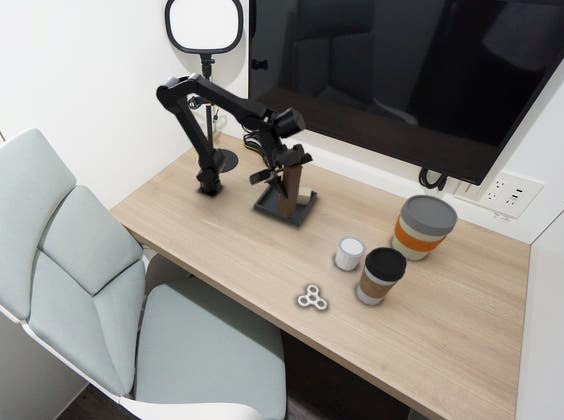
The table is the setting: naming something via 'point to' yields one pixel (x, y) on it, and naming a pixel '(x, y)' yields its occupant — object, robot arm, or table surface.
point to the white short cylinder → (349, 252)
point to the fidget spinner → (311, 300)
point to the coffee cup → (380, 274)
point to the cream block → (304, 195)
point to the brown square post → (290, 189)
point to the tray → (271, 206)
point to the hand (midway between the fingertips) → (292, 196)
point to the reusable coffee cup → (422, 225)
